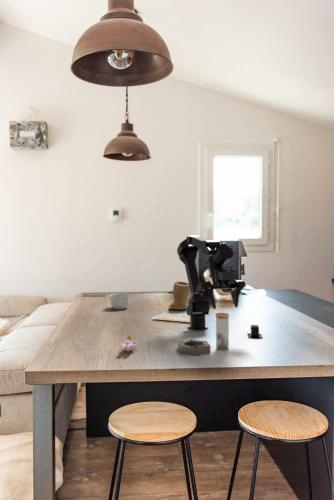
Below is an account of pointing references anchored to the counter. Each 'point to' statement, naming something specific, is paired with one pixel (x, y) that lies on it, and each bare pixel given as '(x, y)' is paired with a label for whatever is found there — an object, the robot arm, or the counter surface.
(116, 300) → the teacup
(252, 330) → the black flanged block
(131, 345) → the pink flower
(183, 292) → the stone cup
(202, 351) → the ring nut
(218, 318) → the grey copper-topped cylinder
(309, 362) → the counter surface
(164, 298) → the counter surface
